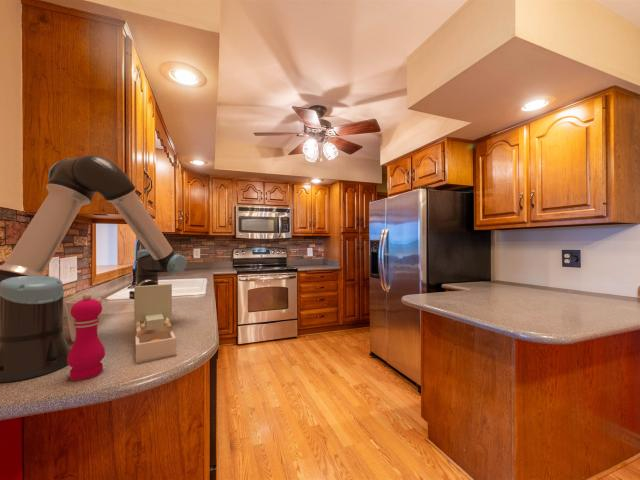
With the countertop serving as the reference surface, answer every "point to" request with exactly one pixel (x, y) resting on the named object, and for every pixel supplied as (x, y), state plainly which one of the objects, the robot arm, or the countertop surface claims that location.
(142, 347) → the open beige box
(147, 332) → the launcher
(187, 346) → the countertop surface
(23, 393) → the countertop surface
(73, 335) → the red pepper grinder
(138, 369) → the countertop surface
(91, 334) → the pepper mill
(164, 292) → the lid
